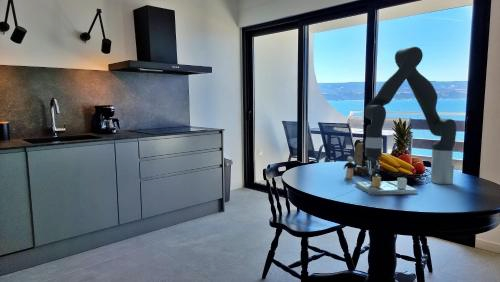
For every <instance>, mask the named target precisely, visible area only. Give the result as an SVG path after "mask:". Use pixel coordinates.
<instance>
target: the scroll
mask: <svg viewBox="0 0 500 282" xmlns="http://www.w3.org/2000/svg"><path fill="white" fill-rule="evenodd" d="M365 142H366V140H364V141H363V142H362V140H360V139H357V140H356V141H355V142H354V143H353V144H354V145H353V146H354V152H353V153H354V157H353V159H354V161H353V162H354V163H353V164H355V165H356V166H357V170H355V168H353V174H356V175H359V176H360V177H362V176H363V175H370V174H369V172H367V168H366V164H365V161H368V157H367V156H365ZM363 155H364V156H365V157H363Z"/></svg>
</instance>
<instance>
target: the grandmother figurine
mask: <svg viewBox="0 0 500 282" xmlns="http://www.w3.org/2000/svg"><path fill="white" fill-rule="evenodd" d="M346 159H347V162H346V163H345V164H344V165H343V170H346V173H345V177H344V180H349V181H353V180H354V173H353V168H355V170H357V167H358V165H357V166H356V165H355V164H354V163H353V162H354V157H353V156H348V157H347V158H346Z"/></svg>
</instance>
